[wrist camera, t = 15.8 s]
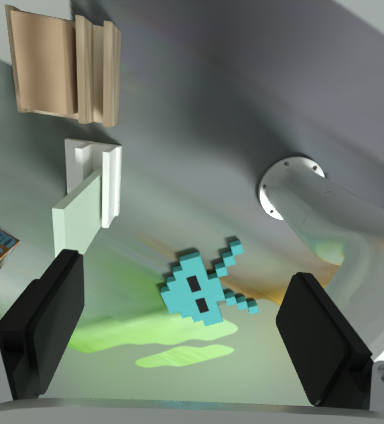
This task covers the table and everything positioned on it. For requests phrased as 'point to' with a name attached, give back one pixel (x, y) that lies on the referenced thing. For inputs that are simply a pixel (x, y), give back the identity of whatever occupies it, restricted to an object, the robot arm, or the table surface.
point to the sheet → (79, 215)
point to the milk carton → (6, 246)
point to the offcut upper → (43, 62)
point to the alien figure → (202, 288)
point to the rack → (87, 70)
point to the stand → (89, 162)
